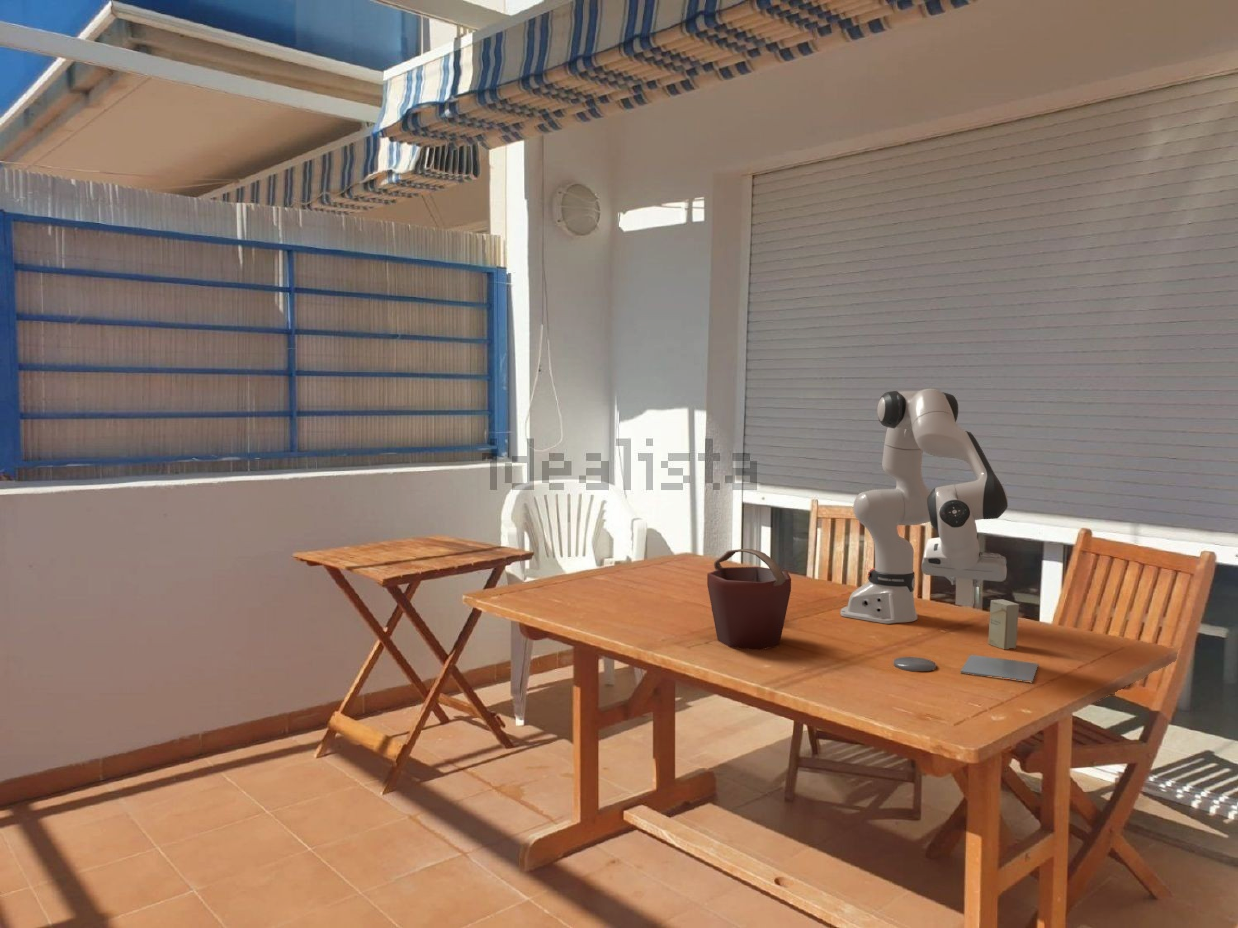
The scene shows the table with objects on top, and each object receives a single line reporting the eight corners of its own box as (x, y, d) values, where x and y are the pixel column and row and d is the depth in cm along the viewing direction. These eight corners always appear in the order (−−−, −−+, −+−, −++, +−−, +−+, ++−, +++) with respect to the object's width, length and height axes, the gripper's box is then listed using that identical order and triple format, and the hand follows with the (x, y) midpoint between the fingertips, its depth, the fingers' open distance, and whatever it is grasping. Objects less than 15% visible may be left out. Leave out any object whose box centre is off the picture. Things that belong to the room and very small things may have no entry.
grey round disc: (889, 667, 231) (889, 664, 231) (898, 657, 240) (898, 654, 240) (931, 674, 226) (931, 670, 226) (939, 663, 235) (939, 660, 235)
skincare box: (987, 644, 253) (989, 599, 252) (1000, 642, 255) (1002, 598, 254) (1004, 650, 247) (1006, 604, 246) (1017, 648, 249) (1019, 603, 248)
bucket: (695, 633, 263) (695, 545, 261) (764, 626, 271) (765, 541, 269) (735, 656, 240) (737, 560, 238) (810, 648, 248) (811, 555, 246)
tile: (960, 673, 227) (960, 670, 227) (970, 656, 241) (970, 654, 241) (1032, 683, 219) (1032, 680, 219) (1038, 665, 233) (1038, 663, 233)
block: (955, 604, 240) (956, 570, 240) (957, 601, 244) (958, 567, 243) (971, 606, 239) (972, 571, 238) (974, 603, 242) (975, 568, 241)
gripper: (1007, 544, 229) (1010, 577, 238) (921, 538, 239) (927, 570, 248) (1004, 565, 225) (1007, 598, 235) (917, 558, 235) (923, 589, 244)
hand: (965, 583), depth 241 cm, fingers closed on block, 4 cm apart
